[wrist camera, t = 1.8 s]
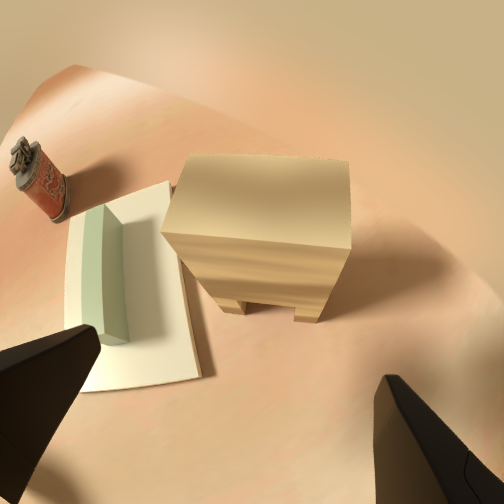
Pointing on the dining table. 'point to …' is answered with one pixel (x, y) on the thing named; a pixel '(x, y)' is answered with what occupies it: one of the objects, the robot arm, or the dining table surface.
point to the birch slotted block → (262, 228)
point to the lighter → (40, 179)
